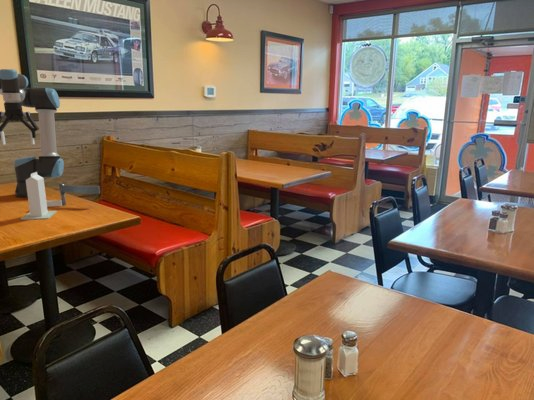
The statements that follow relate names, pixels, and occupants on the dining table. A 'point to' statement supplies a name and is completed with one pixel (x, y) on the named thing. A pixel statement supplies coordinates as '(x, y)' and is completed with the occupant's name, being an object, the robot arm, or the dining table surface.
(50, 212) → the mat
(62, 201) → the bracket
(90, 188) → the dark grey metallic bar
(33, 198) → the milk
